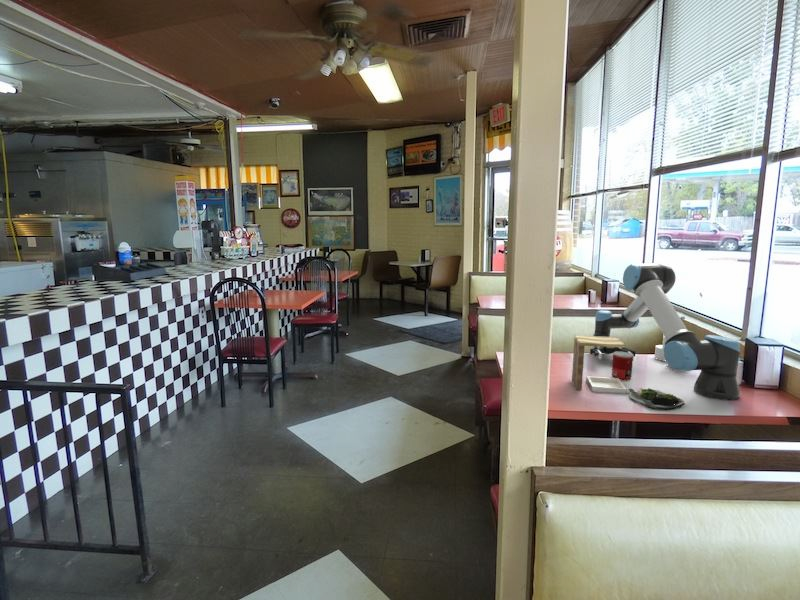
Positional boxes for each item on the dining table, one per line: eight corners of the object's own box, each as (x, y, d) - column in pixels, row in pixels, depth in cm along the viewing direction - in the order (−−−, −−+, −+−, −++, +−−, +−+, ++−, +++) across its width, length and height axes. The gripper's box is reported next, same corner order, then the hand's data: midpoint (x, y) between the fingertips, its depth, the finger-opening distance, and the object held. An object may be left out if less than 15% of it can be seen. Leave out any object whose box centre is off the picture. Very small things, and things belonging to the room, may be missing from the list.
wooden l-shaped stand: (571, 380, 198) (574, 335, 195) (613, 382, 195) (617, 337, 191) (576, 389, 187) (579, 342, 183) (620, 392, 183) (624, 344, 180)
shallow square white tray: (586, 380, 198) (586, 376, 197) (618, 382, 195) (618, 378, 195) (592, 391, 185) (592, 386, 185) (626, 393, 183) (626, 388, 182)
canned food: (629, 381, 196) (631, 357, 194) (609, 378, 201) (611, 354, 199) (632, 377, 202) (634, 353, 200) (613, 373, 207) (615, 350, 205)
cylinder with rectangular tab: (675, 362, 222) (677, 338, 220) (654, 359, 227) (656, 336, 224) (675, 357, 230) (677, 334, 228) (654, 355, 234) (656, 332, 232)
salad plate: (614, 396, 181) (615, 385, 180) (644, 389, 188) (645, 378, 188) (659, 414, 164) (660, 402, 163) (690, 405, 171) (692, 394, 170)
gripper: (631, 353, 228) (645, 366, 207) (579, 350, 233) (587, 363, 212) (633, 339, 227) (646, 350, 206) (580, 336, 232) (588, 348, 211)
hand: (616, 357), depth 209 cm, fingers open, 13 cm apart
